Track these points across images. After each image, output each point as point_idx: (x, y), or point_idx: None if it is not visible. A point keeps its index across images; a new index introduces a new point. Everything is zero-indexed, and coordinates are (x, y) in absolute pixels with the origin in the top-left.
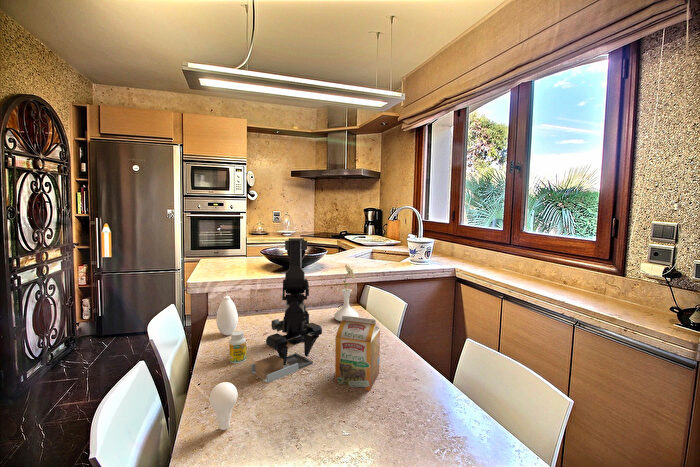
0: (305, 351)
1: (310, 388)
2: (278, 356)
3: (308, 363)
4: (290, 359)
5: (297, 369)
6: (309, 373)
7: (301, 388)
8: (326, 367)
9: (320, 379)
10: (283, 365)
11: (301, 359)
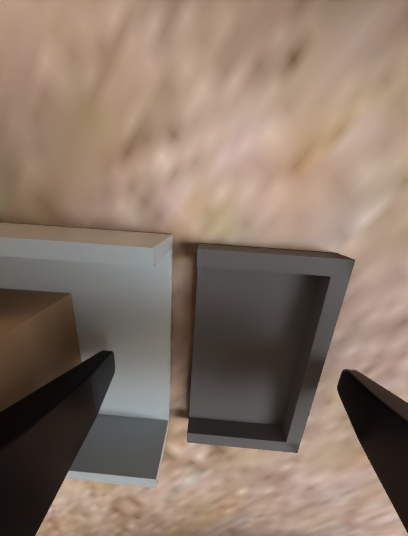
0: (373, 419)
1: (113, 528)
2: (109, 260)
3: (258, 446)
4: (239, 286)
5: (160, 433)
6: (196, 469)
7: (84, 510)
8: (307, 489)
9: (193, 521)
10: (132, 322)
11: (294, 350)
